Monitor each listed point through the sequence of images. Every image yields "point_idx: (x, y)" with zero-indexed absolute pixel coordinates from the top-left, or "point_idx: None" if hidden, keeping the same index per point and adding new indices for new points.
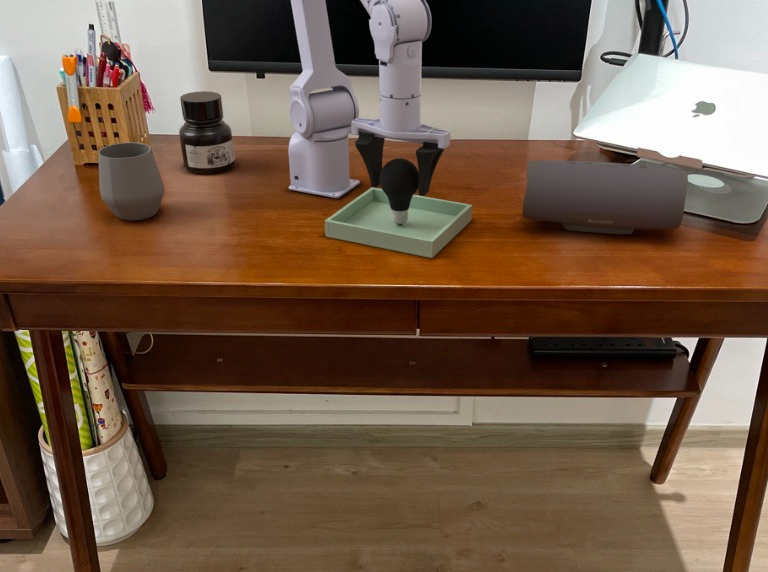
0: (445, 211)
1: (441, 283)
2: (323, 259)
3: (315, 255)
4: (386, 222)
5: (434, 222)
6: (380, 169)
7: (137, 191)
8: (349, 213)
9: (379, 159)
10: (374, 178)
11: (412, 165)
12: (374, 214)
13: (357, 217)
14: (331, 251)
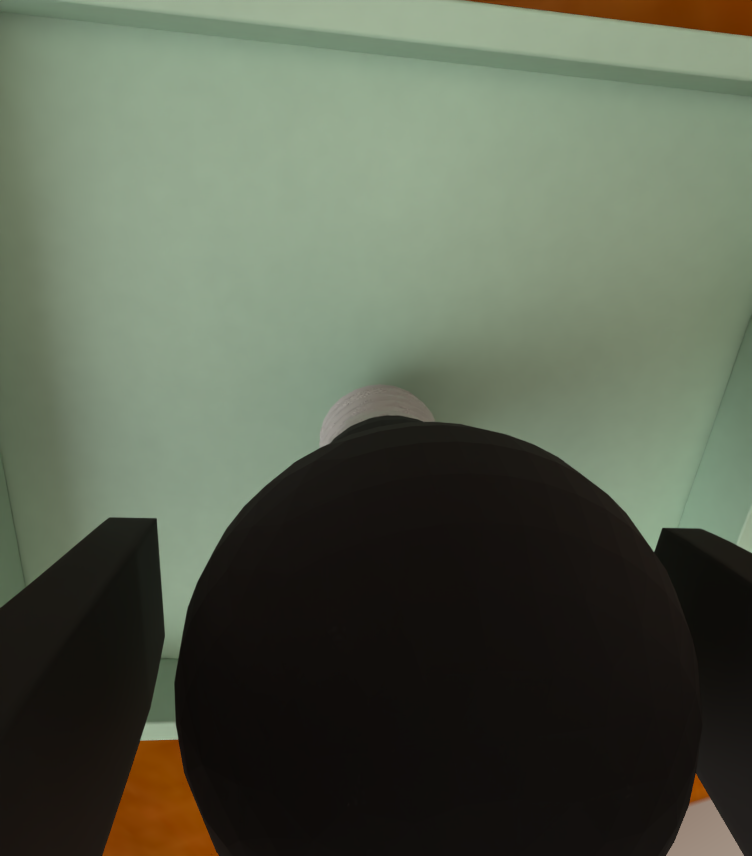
0: (661, 82)
1: (702, 794)
2: (179, 821)
3: (123, 809)
4: (272, 414)
5: (591, 287)
6: (99, 654)
7: None
8: None
9: (30, 809)
10: (138, 741)
11: (677, 822)
12: (119, 317)
13: (37, 413)
14: (165, 761)
